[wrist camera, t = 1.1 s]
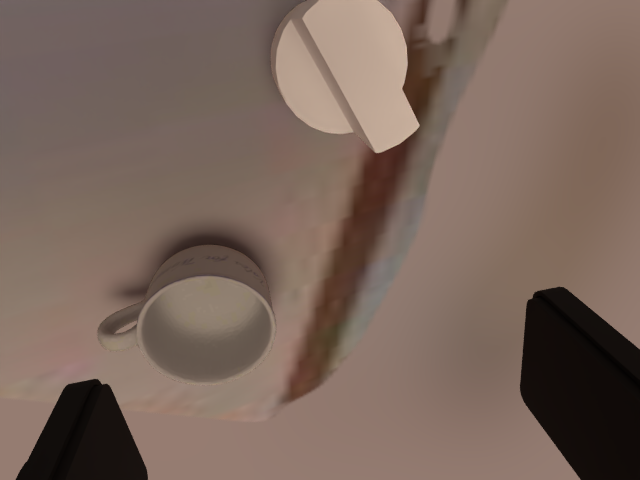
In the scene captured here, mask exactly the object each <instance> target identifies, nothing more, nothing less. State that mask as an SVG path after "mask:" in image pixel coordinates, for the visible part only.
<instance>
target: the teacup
mask: <svg viewBox="0 0 640 480" xmlns="http://www.w3.org/2000/svg"><path fill="white" fill-rule="evenodd" d="M136 320H137V324H136V325H135V326H134V327H132V328H131V329H129V330H127V331H126V332H123V333H118V334H114V333H115V332H116V331H117V330H119V329H120V328H122V327H124V326H126V325H127V324H129V323H132V322H134V321H136ZM275 335H276V320H275V315H274V312H273V310H272V303H271V297H270V293H269V289H268V285H267V282H266V280H265V277H264V275H263V274H262V272H261V271H260V269H259V268H258V266H257V265H256V264H255V263H254V262H253V261H252V260H251V259H250V258H248V257H247V256H246V255H244V254H242V253H241V252H239V251H236V250H234V249H232V248H228V247H224V246H219V245H200V246H195V247H190V248H188V249H185V250H182V251H180V252H178V253H176V254H175V255H173V256H172V257H170V258H169V259H168V260H167V261H165V262H164V263H163V264H162V266H161V267H160V268H159V269H158V271H157V272H156V273H155V275H154V277H153V279H152V281H151V283H150V285H149V288H148V291H147V294H146V297H145V299H144V300H143V301H141V302H140V303H137V304H134V305H132V306H129V307H127V308H124V309H122V310H120V311H117V312H115V313H114V314H112V315H110V316H109V317H107V318H106V319H105V320H104V321H103V322H102V323H101V324H100V326H99V328H98V335H97V336H98V340H99V342H100V344H101V345H102V347H103V348H105V349H106V350H109V351H116V352H117V351H124V350H127V349H130V348H132V347H134V346H136V345H138V346H139V349H140V351H141V353H142V354H143V356H144V358H145V359H146V360H147V361H148V362H149V364H150V365H151V366H152V367H153V368H154V369H155V370H156V371H158V372H159V373H161V374H162V375H164V376H166V377H168V378H170V379H173V380H175V381H178V382H181V383H186V384H192V385H203V386H205V385H217V384H223V383H227V382H230V381H233V380H236V379H238V378H240V377H243V376H244V375H246V374H248V373H250V372H251V371H252V370H254V369H255V368H256V367H258V366H259V365H260V364H261V363H262V362H263V361H264V359H265V358H266V357H267V355H268V354H269V352H270V350H271V348H272V346H273V343H274V340H275Z"/></svg>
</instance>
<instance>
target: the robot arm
mask: <svg viewBox="0 0 640 480" xmlns="http://www.w3.org/2000/svg"><path fill="white" fill-rule="evenodd" d="M520 391H521V395H522V398H523V401H524V403H525V404H526V406H527V407H528V408H529V410H530V411H531V412H532V414H533V415H534V416H535V418H536V419H537V420H538V422H539V423H540V425H541V426H542V427H543V429H544V430H545V431H546V433H547V434H548V436H549V437H550V438H551V440H552V441H553V442H554V444H555V445H556V446H557V448H558V449H559V450H560V452H561V453H562V455H563V456H564V457H565V459H566V460H567V461H568V463H569V464H570V466H571V467H572V468H573V469H574V471H575V472H576V474H577V475H578V476H579V478H580V479H581V480H640V349H638V348H637V347H636V346H635V345H634V344H632V343H631V342H630V341H628V339H626V338H625V337H624V336H623V335H621V334H620V333H619V332H618V331H617V330H615V329H614V328H613V327H612V326H610V325H609V324H608V323H607V322H606V321H605V320H603V319H602V318H601V317H600V316H598V315H597V314H596V313H595V312H594V311H592V310H591V309H590V308H588V306H586V305H585V304H584V303H583V302H582V301H580V300H579V299H578V298H577V297H575V296H574V295H573V294H572V293H571V292H569V291H568V290H567V289H565V288H564V287H557V288H551V289H546V290H541V291H537V292H535V293H534V295H533V298H532V299H530V300H528V302H527V308H526V320H525V332H524V345H523V357H522V370H521V382H520ZM16 480H148V475H147V469H146V467H145V464H144V462H143V460H142V457H141V455H140V453H139V451H138V448H137V446H136V444H135V442H134V439H133V437H132V435H131V432H130V430H129V428H128V426H127V423H126V421H125V419H124V417H123V414H122V412H121V410H120V408H119V405H118V403H117V401H116V398H115V396H114V394H113V392H112V389H111V388H110V386H109V385H108V384H103V385H102V384H101V382H100V381H99V380H98V379H93V380H87V381H82V382H77V383H72V384H68V385H67V386H66V387H65V388H64V389H63V391H62V393H61V395H60V397H59V399H58V401H57V403H56V405H55V407H54V409H53V411H52V413H51V415H50V417H49V419H48V421H47V423H46V425H45V427H44V429H43V431H42V433H41V435H40V437H39V439H38V441H37V443H36V445H35V447H34V449H33V451H32V453H31V455H30V457H29V459H28V461H27V462H26V463H25V464H24V466H23V467H22V469H21V470H20V472H19V474H18V476H17V478H16Z"/></svg>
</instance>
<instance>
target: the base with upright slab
mask: <svg viewBox="0 0 640 480" xmlns="http://www.w3.org/2000/svg"><path fill="white" fill-rule="evenodd" d="M270 63H271V69H272V74H273V79H274V81H275V83H276V85H277V87H278V90H279V92H280V94H281V95H282V97H283V99H284V100H285V102H286V104H287V105H288V106H289V107H290V109H291V110H292V111H293V112H294V114H295V115H296V116H297V117H298V118H299V119H301V120H302V121H303V122H305V123H306V124H308V125H309V126H310V127H312V128H315V129H318V130H320V131H323V132H326V133H336V134H346V133H351V132H354V133H355V134H356V135H357V136H358V137H359V138H360V139H361V140H363V141H364V142H365V143H366V144H367V145H368V146H369V147H370V148H371V149H372V150H373V151H374V152H375V153H380V152H383V151H385V150H387V149H389V148H392V147H394V146H396V145H398V144H400V143H401V142H403V141H404V140H405V139H406V138H407V137H409V136H410V135H411V134H412V133H414V132H415V131H416V130H417V129H418V127H419V126H420V125H419V123H418V121H417V119H416V117H415V115H414V113H413V111H412V109H411V107H410V105H409V103H408V101H407V98H406V96H405V94H404V92H403V90H402V87H403V85H404V82H405V76H406V71H407V65H408V63H407V46H406V43H405V40H404V36H403V33H402V30H401V28H400V26H399V24H398V23H397V21H396V20H395V18H394V16H393V15H392V13H391V12H390V11H389V10H387V9H386V8H385V7H384V6H383V5H382V4H381V3H380V2H379V1H377V0H307V1H305V2H303V3H300V4H298V5H297V6H296V7H295V8H294V9H292V10H291V11H290V12H289V13H288V14H287V15H286V16H285V17H284V19H283V20H282V22H281V23H280V25H279V27H278V28H277V30H276V33H275V36H274V39H273V42H272V45H271V58H270Z"/></svg>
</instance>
